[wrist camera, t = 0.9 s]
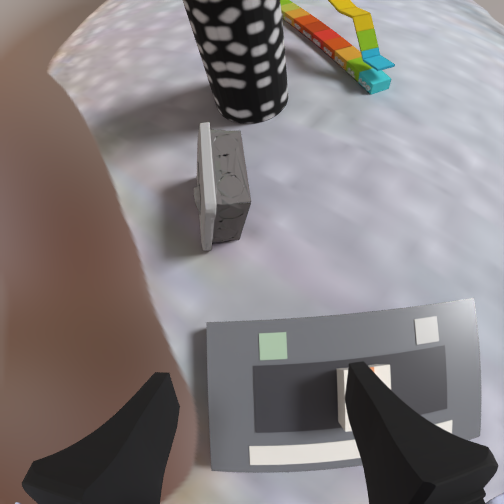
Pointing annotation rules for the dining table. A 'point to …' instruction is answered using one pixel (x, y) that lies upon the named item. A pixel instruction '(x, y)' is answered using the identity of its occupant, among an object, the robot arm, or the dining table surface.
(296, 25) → the chart
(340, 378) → the block
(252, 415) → the panel
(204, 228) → the electrical switch
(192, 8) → the white-spotted black cylinder
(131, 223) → the dining table surface
